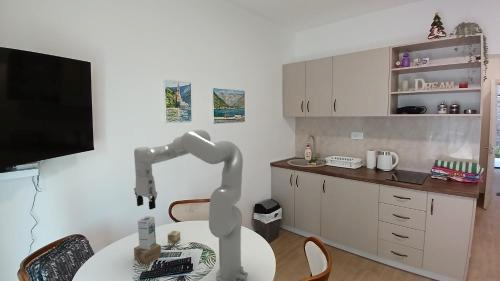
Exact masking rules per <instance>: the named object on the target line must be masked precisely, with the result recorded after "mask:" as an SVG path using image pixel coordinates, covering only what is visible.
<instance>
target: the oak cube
mask: <svg viewBox="0 0 500 281" xmlns="http://www.w3.org/2000/svg"><path fill="white" fill-rule="evenodd" d="M180 241H181V231H178V230H177V231H176V230H171V231H170V232H169V233H168V234H167V244H173V245H177V243H178V242H180Z"/></svg>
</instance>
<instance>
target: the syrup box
mask: <svg viewBox="0 0 500 281" xmlns="http://www.w3.org/2000/svg"><path fill="white" fill-rule="evenodd" d="M137 231H138V232H137V233H138V244H139V245H138V246H139V248H140V249H147V250H150V249H151V248H152V247H153V246H154V245H156V244H157V238H156V222H155V217H154V216H149V215H148V216H144V217H142V218H141V219H138V220H137Z"/></svg>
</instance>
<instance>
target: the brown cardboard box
mask: <svg viewBox="0 0 500 281" xmlns="http://www.w3.org/2000/svg"><path fill="white" fill-rule="evenodd" d="M133 256H134V257H133V258H134V261H137V262H138V263H141V264H143V266H146V265H149V264H150V263H152V262H154V261H156V260H158V259H160V258H162V245H161V244H159V243H156V245H154V246H153V247H152V248H151V249H150V250H147V249H140V248H139V245H137V246H135V247H133Z"/></svg>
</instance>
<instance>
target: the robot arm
mask: <svg viewBox="0 0 500 281" xmlns="http://www.w3.org/2000/svg"><path fill="white" fill-rule="evenodd" d="M211 141H212V140H211V136H210V134H209V133H208V132H207V131H206V130H203V129H198V130H197V129H196V130H188V131H186V132H184V133H183V135H181V136H179V137H175V138H174V139H173V141H172V142H170V143H168V144H165V145H161V146H154V147H147V146H143V147H136V148H135V149H134V150H133V156H134V157H133V158H134V169H135V170H134V171H135V187H134V188H133V191H134V195H135V198H136V206H137V207H141V206H144V197H145V198H147V199H148V209H149V210H150V211H151V210H154V209H156V200H157V196H158V191H156V182H155V179H154V178H155V177H154V176H153V165H154V164H159V163H162V162H166V161H169V160H172V159H176V158H178V157H183V156H185V155H189V154H190V155H192V156H194V157H196V158H197V159H199V160H201V161H203V162H204V163H207V164H208V165H209V164H210V165H217V164H220V163H223V168H222V173H221V185H220V186H218V187H217V188H216V189H215V190H214V191H213V192H212V193H211V195H210V199H209V210H208V211H209V212H208V229H209V231H210V233H211V234H212V235H213V236H214V237H215V238H218V256H219V257H218V258H219V260H218V261H219V262H218V263H219V266H218V267H219V269H217V272H216V273H215V278H216V280H217V281H247V280H248V274H249V273H248V272H246V271H245V270H244V266H243V265H242V255H241V254H242V248H241V246H242V244H241V243H242V242H241V240H242V238H241V237H242V224H243V214H242V211H241V209H240V208H239V207H238V206H237V205H236V204H238V202H239V201H240V200H241V197H242V184H243V182H242V180H243V165H244V163H243V162H244V160H243V158H244V157H243V154H242V152H241V149H240V148H239V147H238V146H237V145H236V144H235V142H232V141H229V140H222V141H216V142H211Z"/></svg>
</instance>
